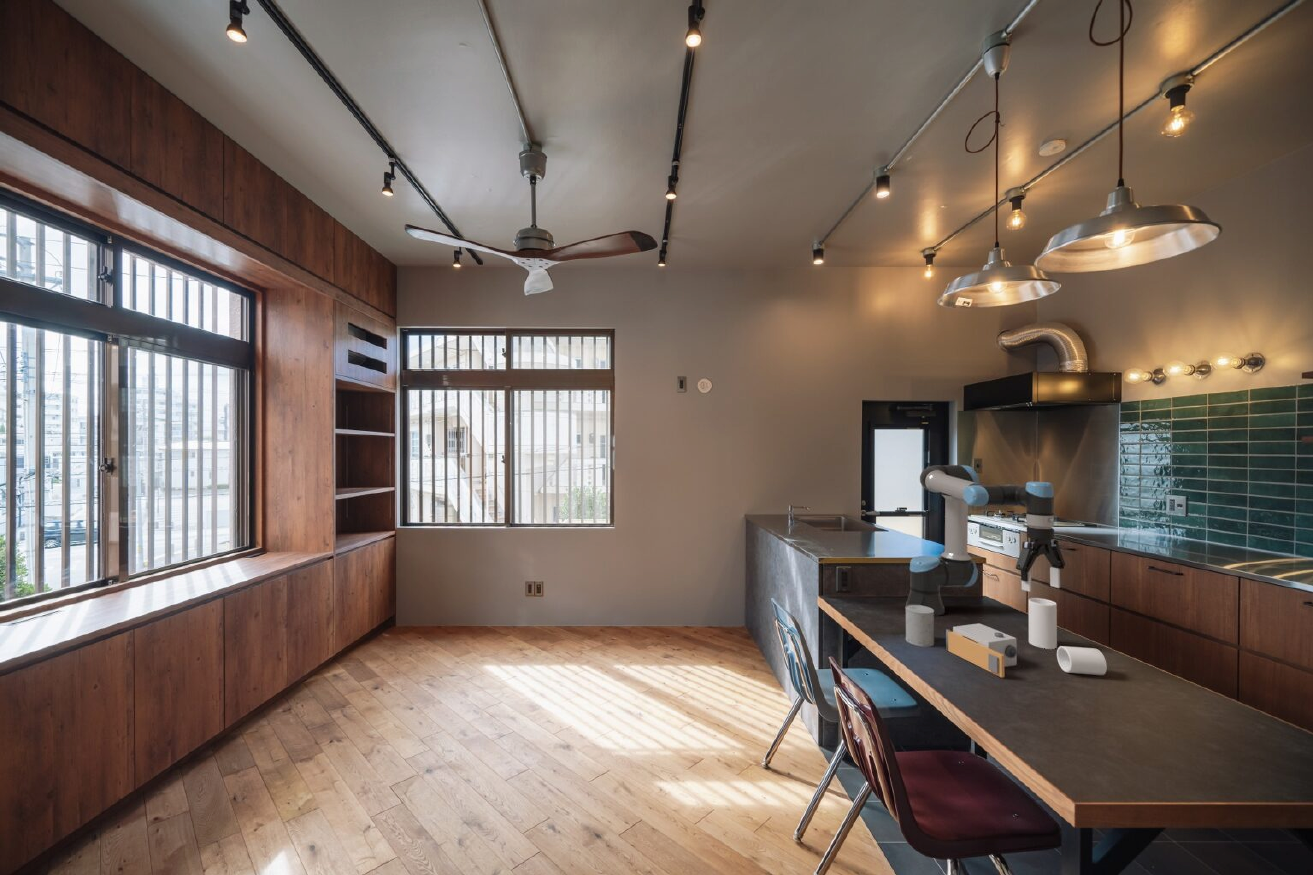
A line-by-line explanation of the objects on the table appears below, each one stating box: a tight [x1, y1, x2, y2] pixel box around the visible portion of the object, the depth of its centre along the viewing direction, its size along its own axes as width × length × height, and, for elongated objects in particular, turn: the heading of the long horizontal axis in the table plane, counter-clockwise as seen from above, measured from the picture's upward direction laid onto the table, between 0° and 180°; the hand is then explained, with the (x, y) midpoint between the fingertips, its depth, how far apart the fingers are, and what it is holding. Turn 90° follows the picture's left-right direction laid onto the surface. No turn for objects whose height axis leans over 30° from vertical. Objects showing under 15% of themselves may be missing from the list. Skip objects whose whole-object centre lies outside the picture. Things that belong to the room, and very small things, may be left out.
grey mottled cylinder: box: [905, 605, 935, 648], centre depth 187 cm, size 10×10×12 cm
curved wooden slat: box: [945, 628, 1005, 678], centre depth 168 cm, size 22×2×7 cm, turn 15°
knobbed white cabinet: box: [952, 622, 1017, 668], centre depth 172 cm, size 15×12×10 cm
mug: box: [1056, 645, 1108, 676], centre depth 164 cm, size 12×10×8 cm
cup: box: [1028, 597, 1058, 650], centre depth 183 cm, size 8×8×16 cm
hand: (1041, 588), depth 170 cm, fingers open, 13 cm apart
